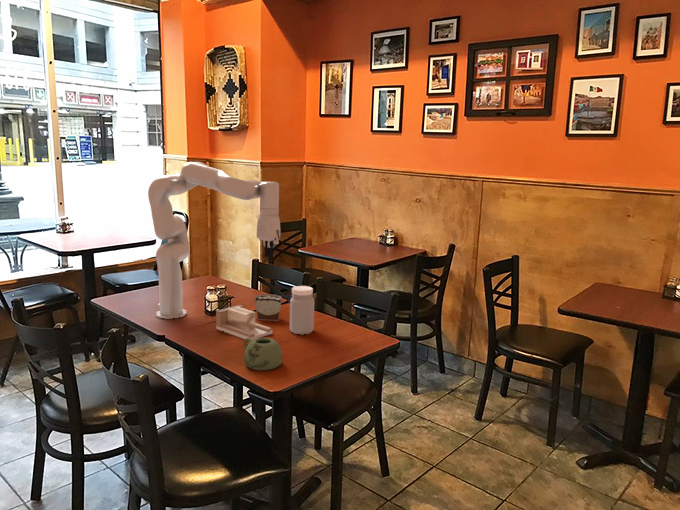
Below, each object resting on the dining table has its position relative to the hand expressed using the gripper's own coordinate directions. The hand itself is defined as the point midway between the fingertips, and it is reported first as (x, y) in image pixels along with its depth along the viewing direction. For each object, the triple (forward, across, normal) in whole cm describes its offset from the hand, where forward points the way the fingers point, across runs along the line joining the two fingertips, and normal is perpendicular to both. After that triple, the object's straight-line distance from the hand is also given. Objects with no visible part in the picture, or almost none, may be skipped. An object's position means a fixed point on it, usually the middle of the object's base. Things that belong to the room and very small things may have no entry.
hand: (268, 256), depth 222 cm
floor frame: (+28, +2, -14) cm, 32 cm away
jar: (+28, +18, +2) cm, 34 cm away
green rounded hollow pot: (+29, +32, -32) cm, 53 cm away
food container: (+29, -4, +5) cm, 29 cm away
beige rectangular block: (+27, 0, -14) cm, 31 cm away
